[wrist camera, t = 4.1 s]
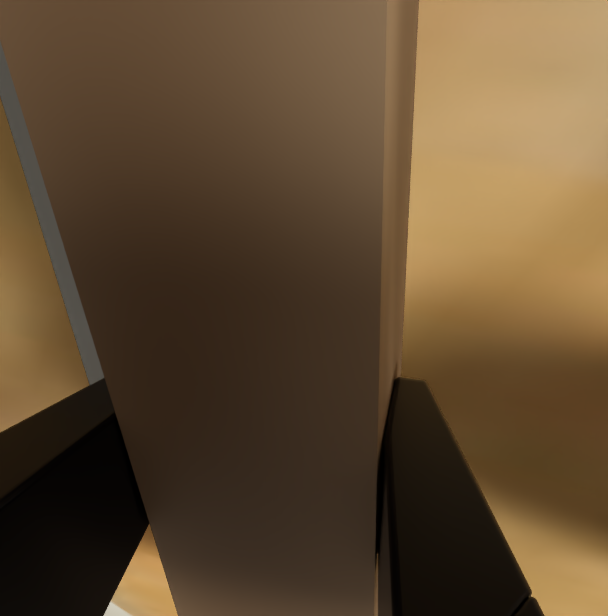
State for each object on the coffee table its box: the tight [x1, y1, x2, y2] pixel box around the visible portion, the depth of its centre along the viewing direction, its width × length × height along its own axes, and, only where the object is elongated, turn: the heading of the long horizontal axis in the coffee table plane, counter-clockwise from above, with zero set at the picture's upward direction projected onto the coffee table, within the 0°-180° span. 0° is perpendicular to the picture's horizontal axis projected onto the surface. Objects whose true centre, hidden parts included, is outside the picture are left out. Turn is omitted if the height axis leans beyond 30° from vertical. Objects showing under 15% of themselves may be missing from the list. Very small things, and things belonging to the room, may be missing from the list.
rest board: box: [0, 42, 104, 385], centre depth 20 cm, size 7×22×2 cm, turn 2°
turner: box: [0, 0, 419, 616], centre depth 9 cm, size 5×18×3 cm, turn 3°
